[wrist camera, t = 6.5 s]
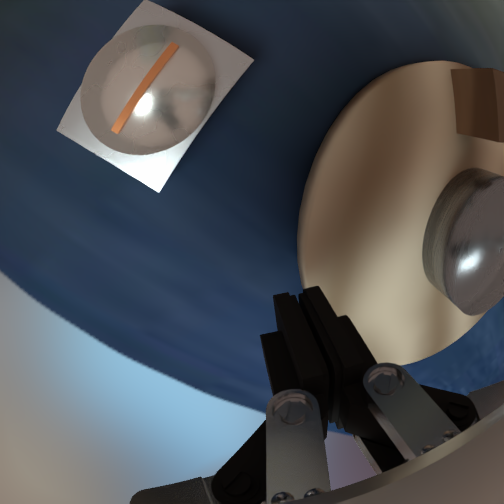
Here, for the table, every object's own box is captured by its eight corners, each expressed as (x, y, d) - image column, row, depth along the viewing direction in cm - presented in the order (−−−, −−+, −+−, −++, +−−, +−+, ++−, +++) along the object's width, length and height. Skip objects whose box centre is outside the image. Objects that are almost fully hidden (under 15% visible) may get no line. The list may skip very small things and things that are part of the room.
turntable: (518, 87, 12) (562, 94, 8) (494, 306, 21) (523, 332, 17) (269, 53, 10) (301, 23, 6) (306, 384, 19) (325, 435, 15)
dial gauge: (156, 22, 10) (141, -9, 6) (243, 73, 12) (258, 55, 8) (84, 127, 11) (46, 131, 8) (168, 178, 13) (155, 197, 10)
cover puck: (505, 165, 13) (539, 177, 10) (490, 273, 16) (516, 293, 14) (426, 171, 12) (468, 186, 9) (413, 304, 16) (441, 334, 13)
